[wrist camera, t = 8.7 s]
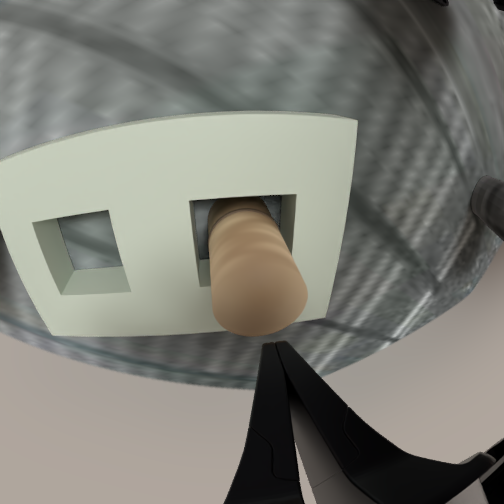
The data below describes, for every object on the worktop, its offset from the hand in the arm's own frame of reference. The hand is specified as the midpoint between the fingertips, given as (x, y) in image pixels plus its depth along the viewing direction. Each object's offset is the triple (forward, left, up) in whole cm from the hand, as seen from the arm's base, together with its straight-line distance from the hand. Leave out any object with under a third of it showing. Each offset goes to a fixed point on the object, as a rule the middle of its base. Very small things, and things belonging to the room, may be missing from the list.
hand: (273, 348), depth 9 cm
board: (+5, 0, -10) cm, 11 cm away
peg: (0, 0, -10) cm, 10 cm away
